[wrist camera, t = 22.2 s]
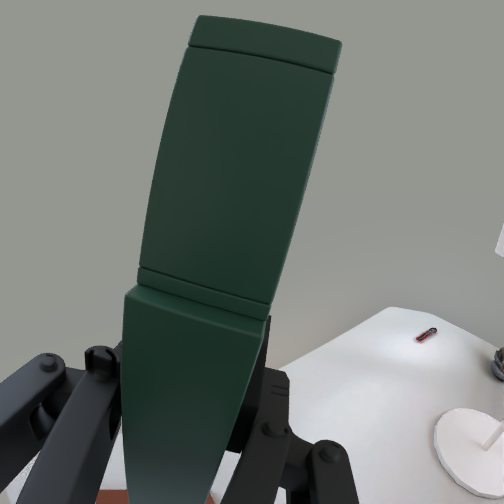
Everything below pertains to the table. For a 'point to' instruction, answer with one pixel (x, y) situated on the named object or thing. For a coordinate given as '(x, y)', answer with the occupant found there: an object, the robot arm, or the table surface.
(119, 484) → the table surface
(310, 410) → the table surface
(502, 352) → the bison figurine
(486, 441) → the white stemmed bowl
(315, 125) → the green block with loop
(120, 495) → the cork pad
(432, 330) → the pen
